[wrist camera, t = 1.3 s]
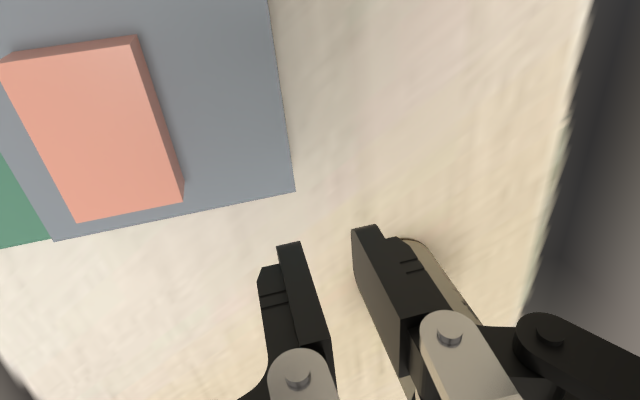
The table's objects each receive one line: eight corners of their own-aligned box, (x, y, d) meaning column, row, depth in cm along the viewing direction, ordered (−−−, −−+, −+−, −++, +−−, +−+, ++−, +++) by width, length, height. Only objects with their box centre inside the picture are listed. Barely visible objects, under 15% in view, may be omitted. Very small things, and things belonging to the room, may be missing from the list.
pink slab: (12, 51, 20) (-9, 64, 18) (136, 34, 21) (129, 44, 19) (86, 200, 25) (76, 223, 23) (184, 181, 26) (183, 201, 24)
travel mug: (358, 306, 43) (440, 500, 28) (352, 249, 38) (445, 445, 24) (429, 286, 44) (543, 464, 29) (431, 229, 39) (568, 403, 25)
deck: (-44, -5, 22) (-87, 5, 19) (253, -42, 24) (261, -38, 21) (70, 208, 30) (53, 242, 26) (286, 165, 32) (296, 191, 29)
